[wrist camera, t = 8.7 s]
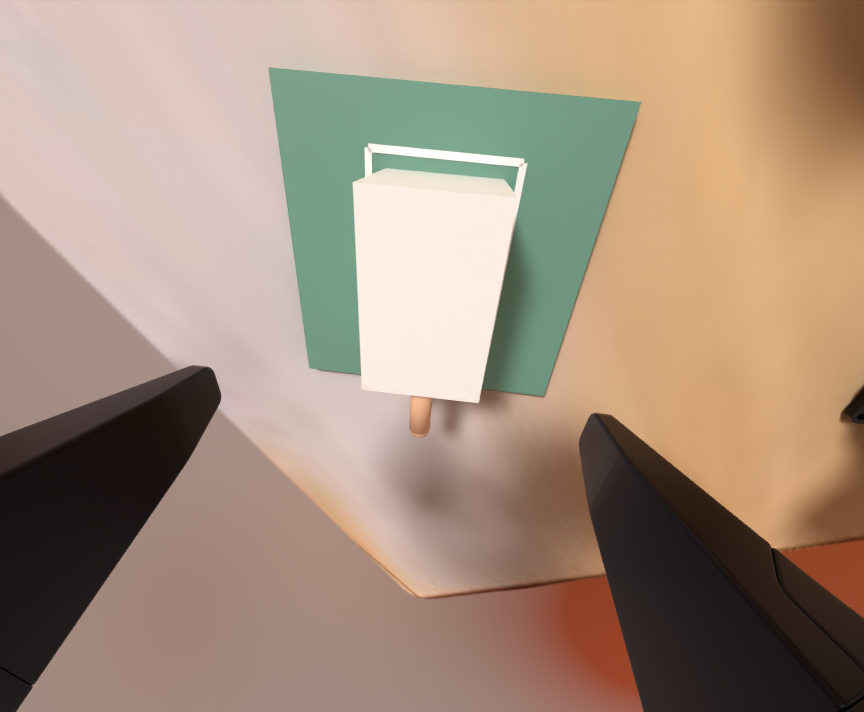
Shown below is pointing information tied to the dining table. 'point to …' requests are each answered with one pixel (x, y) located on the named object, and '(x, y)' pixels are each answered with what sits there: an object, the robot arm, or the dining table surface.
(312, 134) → the pin board
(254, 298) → the dining table surface
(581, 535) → the dining table surface
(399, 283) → the block
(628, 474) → the robot arm
